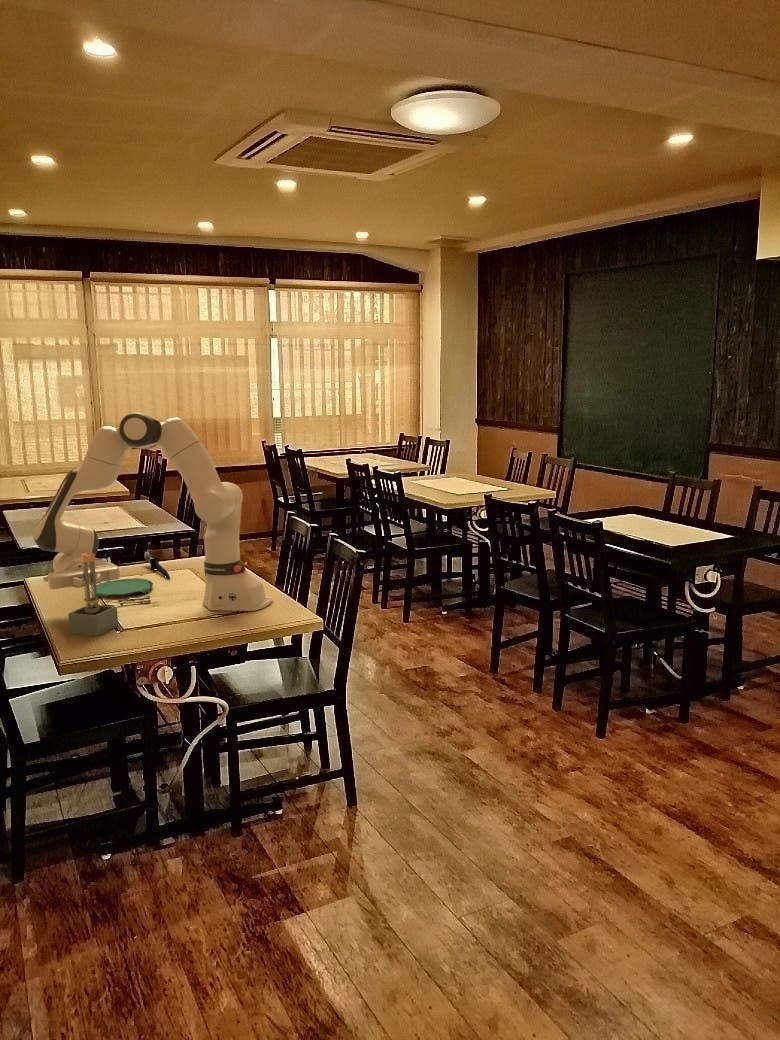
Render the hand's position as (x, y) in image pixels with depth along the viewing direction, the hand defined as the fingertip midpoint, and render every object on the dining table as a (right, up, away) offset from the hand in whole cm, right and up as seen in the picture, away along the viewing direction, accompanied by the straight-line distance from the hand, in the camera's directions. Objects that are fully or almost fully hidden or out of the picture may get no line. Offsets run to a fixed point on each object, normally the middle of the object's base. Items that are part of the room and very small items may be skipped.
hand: (90, 582), depth 232 cm
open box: (0, -14, +3) cm, 15 cm away
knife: (-1, -2, +71) cm, 71 cm away
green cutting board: (-4, -8, +41) cm, 42 cm away
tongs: (-1, -10, +3) cm, 11 cm away
